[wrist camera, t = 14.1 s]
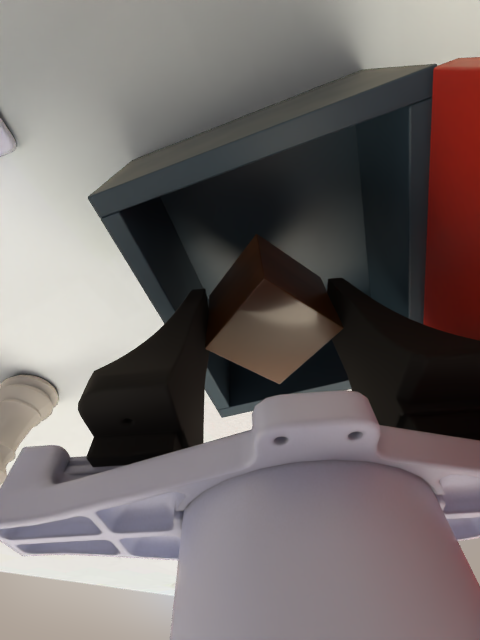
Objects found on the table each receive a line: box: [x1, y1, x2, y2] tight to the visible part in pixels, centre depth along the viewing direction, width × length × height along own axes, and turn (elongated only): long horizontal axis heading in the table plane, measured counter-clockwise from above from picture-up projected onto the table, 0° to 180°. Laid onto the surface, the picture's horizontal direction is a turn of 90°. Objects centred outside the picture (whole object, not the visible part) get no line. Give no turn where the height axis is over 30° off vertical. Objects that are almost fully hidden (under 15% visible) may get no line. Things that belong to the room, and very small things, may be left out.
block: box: [205, 234, 344, 384], centre depth 14 cm, size 4×4×4 cm
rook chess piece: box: [0, 375, 59, 485], centre depth 23 cm, size 4×4×8 cm
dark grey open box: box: [88, 64, 437, 418], centre depth 16 cm, size 12×14×6 cm
